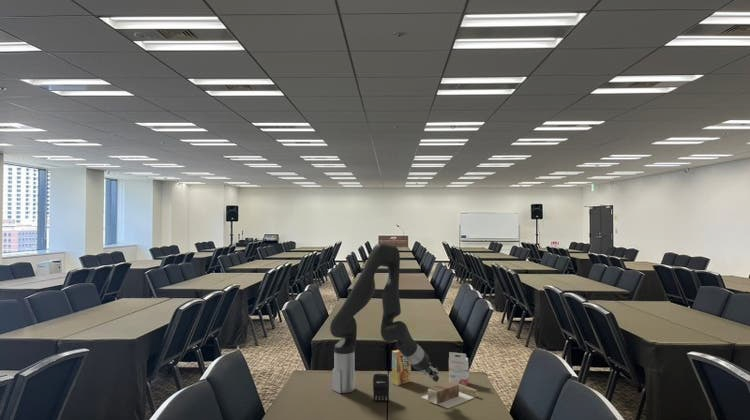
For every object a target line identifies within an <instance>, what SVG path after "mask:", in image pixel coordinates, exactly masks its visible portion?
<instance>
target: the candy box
mask: <svg viewBox="0 0 750 420" xmlns="http://www.w3.org/2000/svg"><path fill="white" fill-rule="evenodd" d="M411 381H412V365H411V364H410V363H409V362H408V361H407V359H406V358H405V357H404V355H403V354H402V353H401V352H400V351H399V350H398V349H396V350H391V383H392V385H395V386H401V385H404V384H406V383H409V382H411Z"/></svg>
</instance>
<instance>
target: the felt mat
mask: <svg viewBox="0 0 750 420" xmlns="http://www.w3.org/2000/svg"><path fill="white" fill-rule="evenodd" d="M421 399H423V400H426V401H428V394H425V395H423V396H421ZM473 399H475V398H474V397H472V396H469V395H466V394H463V393H461V392H459V396H458V397H456V398H453V399H450V400H447V401H445V402H442V403H439V404H437V405H438V406H440V407H443V408H446V409H450V408H452V407H455V406H458V405H461V404H462V403H465V402H468V401H470V400H473Z"/></svg>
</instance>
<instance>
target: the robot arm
mask: <svg viewBox="0 0 750 420" xmlns="http://www.w3.org/2000/svg"><path fill="white" fill-rule="evenodd" d="M400 263H401V254H400V251H399V248H398V246H395V245H391V244H386V243H377V244H375V245H374V246H373V247H372V249H371V251H370V253H369V255H368V257H367V260H366V263H365V265H364V267H363V269H362V271H361V273H360V275H359V277H358V278H357V280H356V282H355V283H354V285H353V287H352V288H351V290H350V291H349V294H348V296H347V297H346V299H345V301H344V302H343V304H342V306H341V308H340V309H339V310H338V311H337V313H336V314H335V316H334V317H333V318H332V320H331V322H330V325H329V328H330V329H329V330H330V334H331V335H332V336H333V337H334V338H336V339H337V338H340V339H339V340H338V342H337V343H335V345H334V348H333V351H334V353H333V354H334V355H333V358H334V360H333V361H334V362H333V363H334V364H333V365H334V366H333V367H334V368H332V372H331V373H332V374H331V375H332V377H331V378H332V391H334V392H336V393H339V394H345V393H346V394H347V393H351V392H354V391H355V387H356V386H355V385H356V383H355V366H356V365H355V364H356V363H355V348H356V345H357V335H358V334H357V332H358V331H357V330H358V329H357V328H358V326H357V321H356V319H355V317H354V316H355V315H357V314H359V312H360V311H362V310H363V309H364V308H365V307H366V306H367V305H368V304H369V302H370V301H371V300H372V298H373V295H374V294H375V292H376V283H375V274H376V273H377V271H378V269H379V268H380V267H385V268H387V270H388V278H387V280H386V283H385V286H384V288H383V291H382V295H381V300H382V301H381V302H382V312H383V313H382V316H381V317H382V319H381V324H380V335H381V338H382V339H383V341H385V342H386V343H390V342H395V341H396V343H395V345H396V348H397V350H399V351H400V352H401V353H402V354H403V355H404V357H405V358H406V359H407V361H408V362H409V363H410V364H411V367H413V369H415V370H417V371H419V372H421V373H422V374H424V375H426V376H427V377H429V378H430V379H432V381H433V382H436V383H437V382H438V381H439V380H440V376H438V374H439V371H440V368H438V367H434V366H433V365H432V363H431V362H430V357H429V355H428V354H427V353H426V352H425V350H424V349H423V348H422V347H421V346H420V345H419V344H418V343H417V342H416V341H415V340H414V339H413V337H412V336H411V333H410V331H409V328H408V326H407V324H406V323H405V322H404V321H401V320H397V321H394V319H395V318H397V317H398V316H400V315H401V313H402V311H401V310H402V309H401V301H400V300H401V299H400V289H399V288H400V287H399V286H400V270H401V269H400Z"/></svg>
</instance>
